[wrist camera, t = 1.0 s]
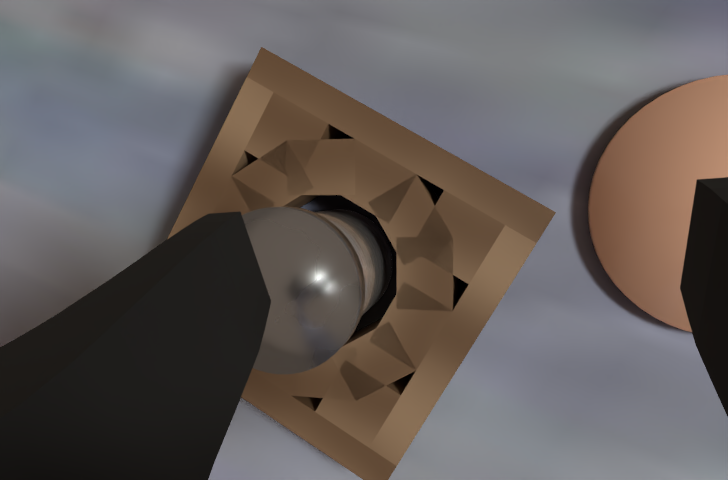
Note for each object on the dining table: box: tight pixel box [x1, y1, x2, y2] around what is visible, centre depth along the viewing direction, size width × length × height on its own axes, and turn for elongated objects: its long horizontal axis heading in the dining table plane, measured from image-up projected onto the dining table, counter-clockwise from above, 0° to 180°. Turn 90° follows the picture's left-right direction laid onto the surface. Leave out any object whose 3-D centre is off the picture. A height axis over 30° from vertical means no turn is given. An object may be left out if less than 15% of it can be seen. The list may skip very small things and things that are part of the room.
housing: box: [167, 47, 556, 480], centre depth 23 cm, size 12×12×2 cm
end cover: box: [242, 206, 393, 374], centre depth 21 cm, size 5×5×7 cm
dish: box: [588, 75, 728, 332], centre depth 21 cm, size 9×9×1 cm
